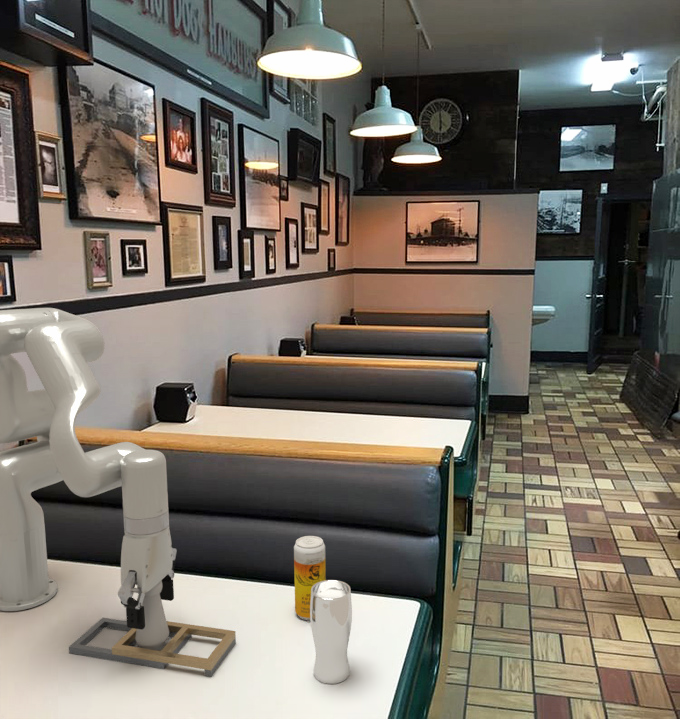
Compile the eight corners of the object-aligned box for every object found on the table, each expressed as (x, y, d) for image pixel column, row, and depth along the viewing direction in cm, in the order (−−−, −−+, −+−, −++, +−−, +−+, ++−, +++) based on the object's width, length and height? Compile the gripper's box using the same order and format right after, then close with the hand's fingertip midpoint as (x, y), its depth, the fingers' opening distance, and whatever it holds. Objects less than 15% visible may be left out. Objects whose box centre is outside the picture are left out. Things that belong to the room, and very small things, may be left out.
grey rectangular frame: (69, 653, 114) (68, 646, 114) (103, 623, 124) (102, 617, 124) (164, 669, 110) (163, 662, 109) (191, 636, 119) (191, 630, 119)
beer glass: (338, 691, 104) (337, 604, 101) (302, 677, 107) (301, 592, 105) (359, 668, 109) (359, 585, 107) (325, 655, 113) (324, 575, 111)
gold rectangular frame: (112, 660, 112) (111, 647, 112) (143, 629, 122) (143, 617, 121) (211, 677, 107) (210, 663, 107) (235, 643, 117) (235, 631, 117)
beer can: (302, 625, 123) (301, 550, 121) (290, 610, 128) (288, 538, 126) (331, 616, 126) (330, 544, 123) (317, 602, 131) (316, 532, 129)
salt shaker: (174, 639, 118) (171, 573, 116) (163, 658, 113) (159, 588, 111) (143, 638, 119) (140, 571, 117) (130, 656, 113) (127, 587, 111)
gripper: (153, 502, 121) (158, 587, 124) (97, 539, 105) (103, 636, 107) (189, 505, 120) (193, 592, 122) (138, 544, 103) (143, 643, 105)
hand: (151, 612), depth 115 cm, fingers open, 9 cm apart
